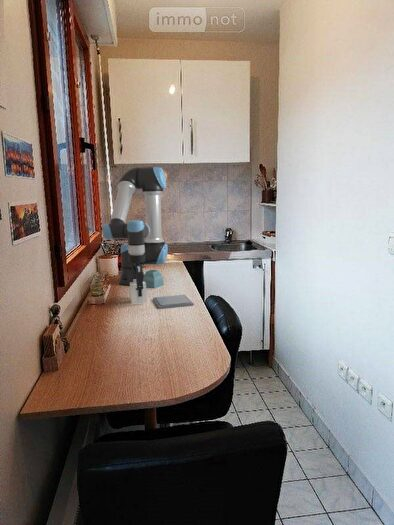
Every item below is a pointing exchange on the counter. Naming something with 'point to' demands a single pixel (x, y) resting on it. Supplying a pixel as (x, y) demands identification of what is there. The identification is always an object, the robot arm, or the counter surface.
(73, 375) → the counter surface
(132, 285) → the plug
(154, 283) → the teal faceted dome
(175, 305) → the plate
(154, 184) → the robot arm
